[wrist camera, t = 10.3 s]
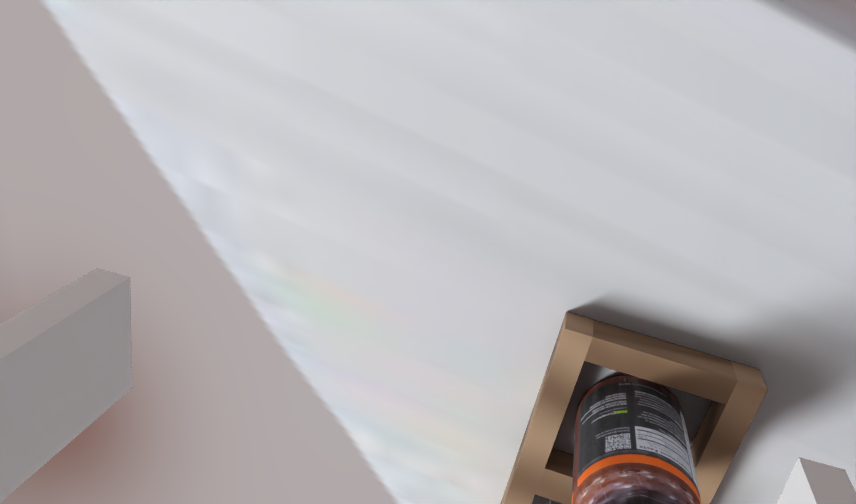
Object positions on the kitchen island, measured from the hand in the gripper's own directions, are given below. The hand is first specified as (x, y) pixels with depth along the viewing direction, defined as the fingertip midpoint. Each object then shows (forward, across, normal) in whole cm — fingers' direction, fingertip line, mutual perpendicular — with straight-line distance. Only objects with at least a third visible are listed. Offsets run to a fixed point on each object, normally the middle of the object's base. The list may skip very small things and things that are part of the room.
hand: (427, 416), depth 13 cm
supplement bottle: (+24, -8, +14) cm, 29 cm away
